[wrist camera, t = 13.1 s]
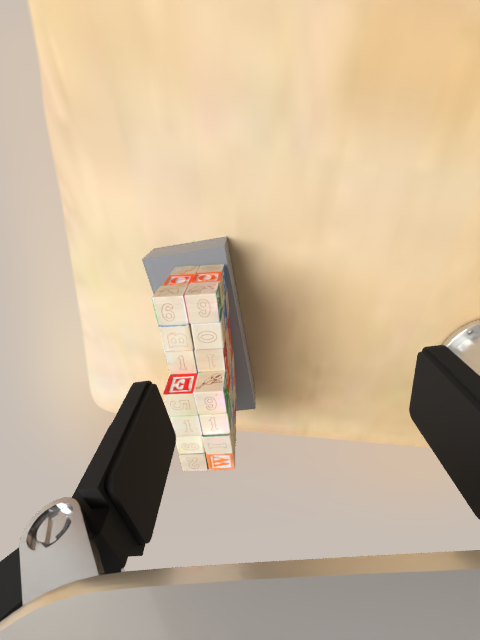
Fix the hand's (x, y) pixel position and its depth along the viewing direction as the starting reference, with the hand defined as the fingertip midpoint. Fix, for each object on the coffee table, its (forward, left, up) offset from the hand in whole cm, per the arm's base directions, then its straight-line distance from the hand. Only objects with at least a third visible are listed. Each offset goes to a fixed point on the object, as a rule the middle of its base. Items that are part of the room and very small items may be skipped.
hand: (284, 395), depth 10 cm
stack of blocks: (+8, +12, -26) cm, 30 cm away
